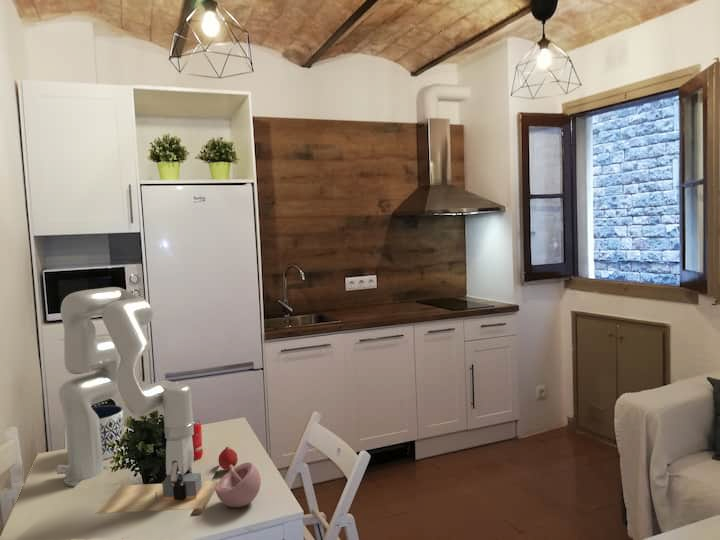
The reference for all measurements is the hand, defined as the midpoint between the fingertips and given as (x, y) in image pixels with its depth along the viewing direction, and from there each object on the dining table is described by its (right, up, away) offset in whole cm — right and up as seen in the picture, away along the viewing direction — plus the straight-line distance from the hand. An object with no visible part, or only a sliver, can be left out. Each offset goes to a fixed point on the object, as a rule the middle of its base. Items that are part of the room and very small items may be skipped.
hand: (183, 493), depth 153 cm
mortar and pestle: (+16, -2, -4) cm, 17 cm away
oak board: (-7, -2, 0) cm, 7 cm away
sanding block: (0, -1, 0) cm, 1 cm away
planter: (-41, -2, +38) cm, 56 cm away
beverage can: (-6, -1, +30) cm, 31 cm away
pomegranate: (+8, -1, +18) cm, 20 cm away
